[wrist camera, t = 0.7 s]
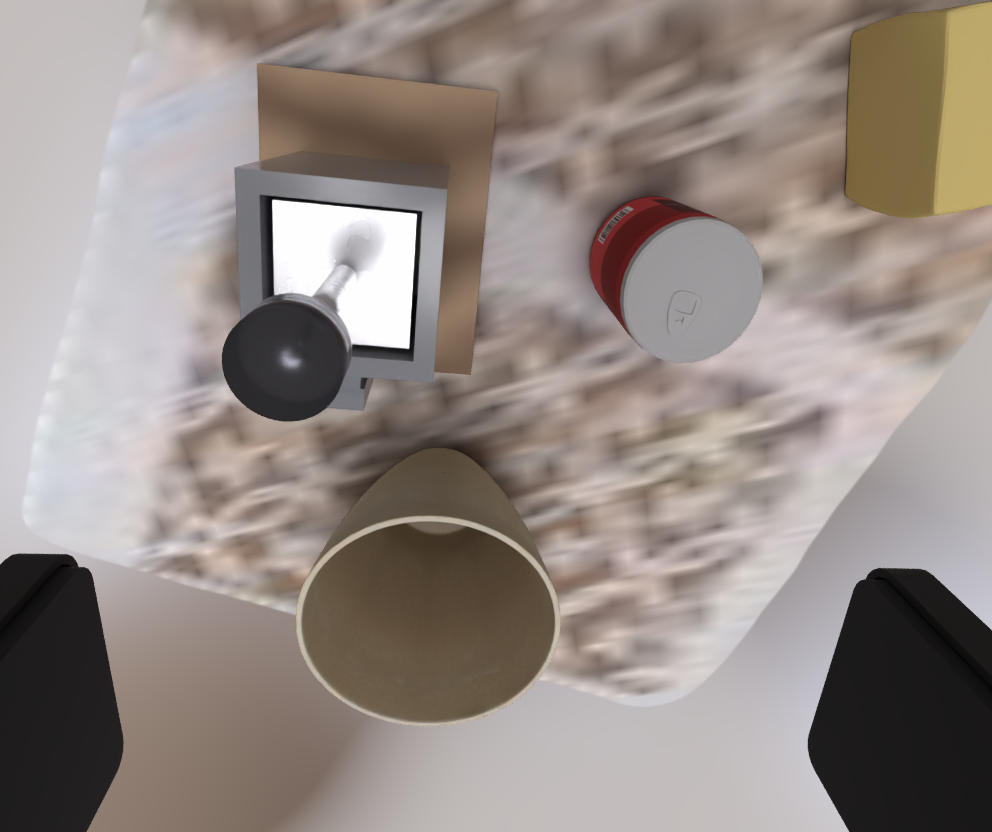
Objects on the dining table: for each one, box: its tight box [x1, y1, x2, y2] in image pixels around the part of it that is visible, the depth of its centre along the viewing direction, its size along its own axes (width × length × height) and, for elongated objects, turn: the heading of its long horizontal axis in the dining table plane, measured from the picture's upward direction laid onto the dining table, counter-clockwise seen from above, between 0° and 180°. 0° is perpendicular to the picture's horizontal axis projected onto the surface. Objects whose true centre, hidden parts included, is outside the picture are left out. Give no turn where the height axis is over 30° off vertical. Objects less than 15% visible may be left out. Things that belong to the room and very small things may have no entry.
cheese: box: [845, 1, 992, 218], centre depth 40 cm, size 10×11×10 cm
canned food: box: [590, 197, 763, 363], centre depth 43 cm, size 8×8×11 cm
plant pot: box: [296, 448, 561, 726], centre depth 47 cm, size 15×15×16 cm
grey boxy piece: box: [235, 151, 450, 411], centre depth 39 cm, size 12×9×14 cm
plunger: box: [222, 198, 417, 421], centre depth 27 cm, size 6×6×13 cm
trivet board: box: [257, 63, 498, 375], centre depth 45 cm, size 18×14×2 cm
